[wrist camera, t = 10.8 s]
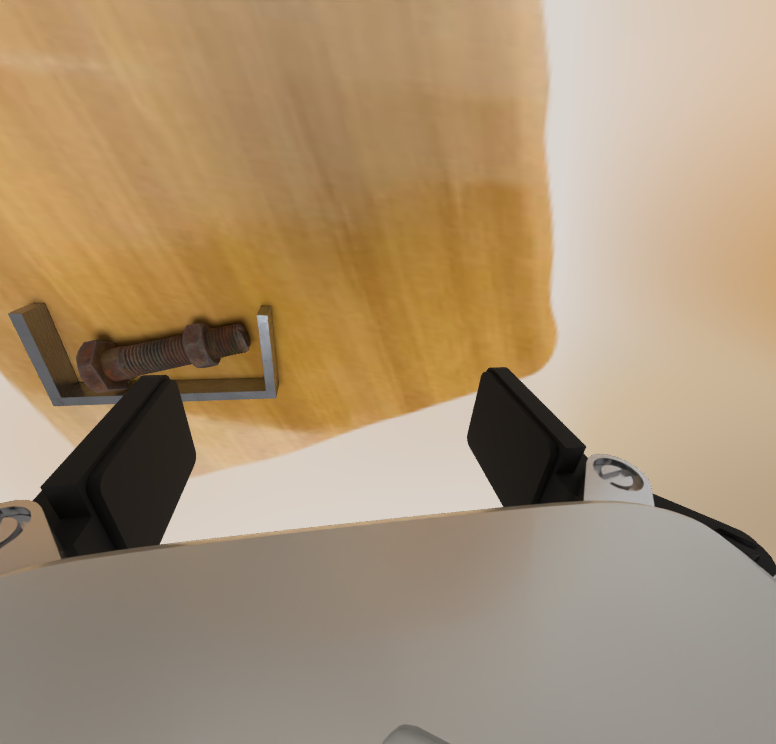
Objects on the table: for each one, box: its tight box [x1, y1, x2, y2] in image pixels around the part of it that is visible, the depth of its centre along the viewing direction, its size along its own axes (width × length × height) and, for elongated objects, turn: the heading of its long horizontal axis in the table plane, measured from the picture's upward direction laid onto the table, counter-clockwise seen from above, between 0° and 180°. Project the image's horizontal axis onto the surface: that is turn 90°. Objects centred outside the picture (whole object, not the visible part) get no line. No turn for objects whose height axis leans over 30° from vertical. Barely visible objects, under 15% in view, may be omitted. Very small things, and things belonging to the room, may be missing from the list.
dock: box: [8, 303, 279, 406], centre depth 36 cm, size 10×22×3 cm, turn 86°
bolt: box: [76, 323, 250, 393], centre depth 35 cm, size 6×5×15 cm
